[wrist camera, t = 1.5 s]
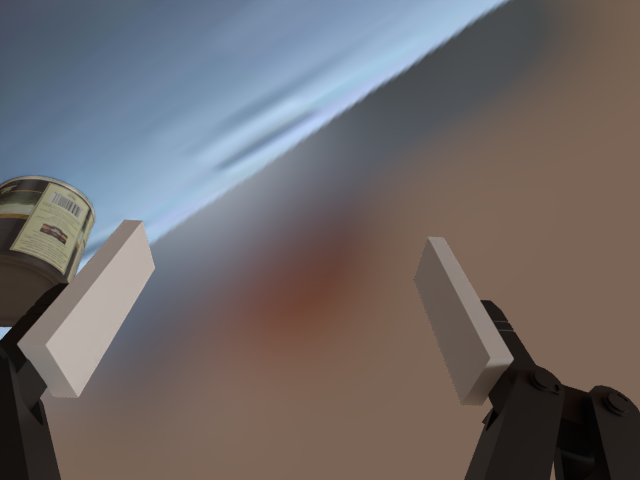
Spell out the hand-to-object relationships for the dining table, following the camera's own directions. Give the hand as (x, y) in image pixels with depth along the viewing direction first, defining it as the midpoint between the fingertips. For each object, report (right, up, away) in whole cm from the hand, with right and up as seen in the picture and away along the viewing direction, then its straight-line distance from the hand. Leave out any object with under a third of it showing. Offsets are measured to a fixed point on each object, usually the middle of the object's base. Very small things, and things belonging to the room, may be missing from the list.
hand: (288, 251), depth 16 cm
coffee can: (-33, +4, +26) cm, 42 cm away
